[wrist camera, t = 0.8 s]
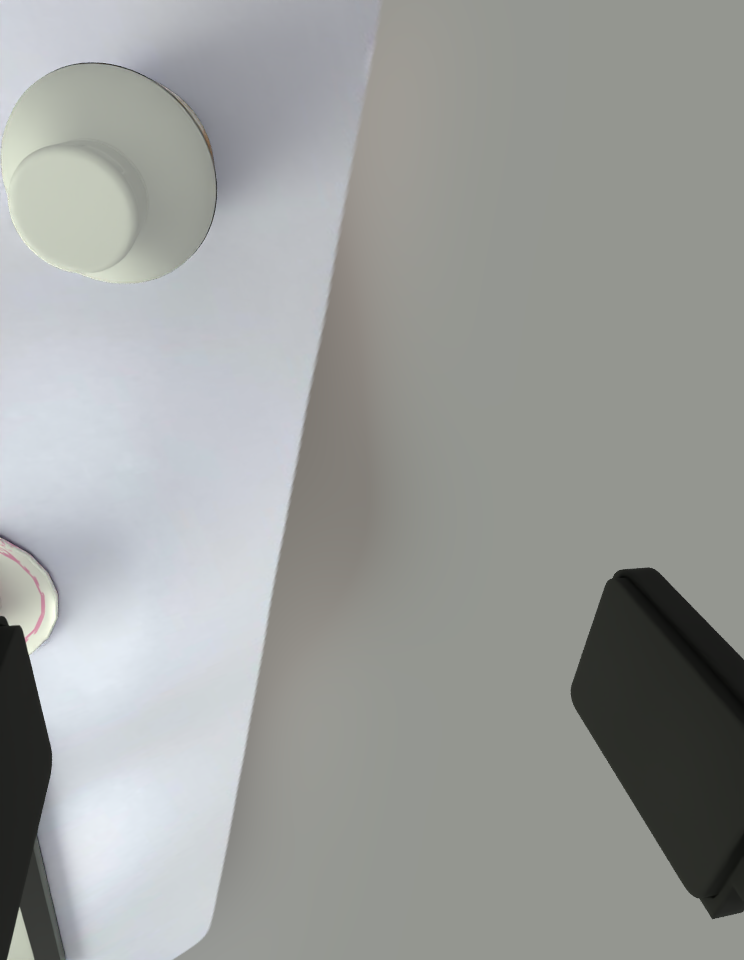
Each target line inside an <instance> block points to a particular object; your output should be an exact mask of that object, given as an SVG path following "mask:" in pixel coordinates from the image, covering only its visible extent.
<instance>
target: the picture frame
mask: <svg viewBox="0 0 744 960" xmlns="http://www.w3.org/2000/svg"><path fill="white" fill-rule="evenodd" d="M7 960H66V959H65V955H64V950H63V946H62V942H61V937H60V933H59V929H58V925H57V920H56V916H55V912H54V908H53V903H52V899H51V895H50V891H49V886H48V882H47V878H46V873H45V869H44V865H43V861H42V856H41V852H40V848H39V844H38V839H37V835H36V839H35V843H34V848H33V852H32V856H31V860H30V865H29V869H28V873H27V877H26V882H25V886H24V890H23V894H22V899H21V903H20V907H19V911H18V915H17V920H16V924H15V928H14V932H13V937H12V941H11V945H10V949H9V954H8V958H7Z"/></svg>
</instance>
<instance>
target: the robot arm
mask: <svg viewBox="0 0 744 960" xmlns="http://www.w3.org/2000/svg"><path fill="white" fill-rule="evenodd" d="M571 698H572V702H573V705H574V707H575V709H576V710H577V712H578V714H579V715H580V717H581V719H582V720H583V722H584V724H585V725H586V727H587V728H588V730H589V732H590V733H591V735H592V737H593V738H594V740H595V741H596V743H597V745H598V746H599V748H600V750H601V751H602V753H603V755H604V756H605V758H606V759H607V761H608V763H609V764H610V766H611V768H612V769H613V771H614V772H615V774H616V776H617V777H618V779H619V781H620V782H621V784H622V785H623V787H624V789H625V790H626V792H627V793H628V795H629V797H630V799H631V800H632V802H633V803H634V805H635V807H636V808H637V810H638V811H639V813H640V815H641V817H642V818H643V820H644V821H645V823H646V825H647V826H648V828H649V830H650V831H651V833H652V834H653V836H654V838H655V839H656V841H657V842H658V844H659V846H660V847H661V849H662V851H663V852H664V854H665V856H666V857H667V859H668V861H669V862H670V864H671V865H672V867H673V869H674V870H675V872H676V873H677V875H678V877H679V878H680V880H681V881H682V883H683V885H684V886H685V888H686V889H687V890H688V892H689V893H690V894H691V895H693V896H694V897H696V898H700V900H701V902H702V903H703V905H704V906H705V908H706V910H707V911H708V913H709V914H710V916H711V918H712V919H715V918H719V917H724V916H728V915H733V914H737V913H741V912H743V911H744V660H743V658H742V657H741V656H740V655H739V654H738V653H737V652H736V651H735V650H734V649H733V648H732V647H731V646H730V645H729V644H728V643H727V642H726V641H725V640H724V639H723V638H722V637H721V636H720V635H719V634H718V633H717V632H716V631H715V630H714V629H713V628H712V627H711V626H710V625H709V624H708V623H707V622H706V620H705V619H704V618H703V617H702V616H701V615H700V614H699V613H698V612H697V611H696V610H695V609H694V608H693V607H692V606H691V605H690V604H689V603H688V602H687V601H686V600H685V599H684V598H683V597H682V596H681V595H680V594H679V593H678V592H677V591H676V590H675V589H674V588H673V587H672V586H671V585H670V583H669V582H668V581H667V580H666V579H665V578H664V577H663V576H662V575H661V574H660V573H659V572H658V571H656V570H655V569H653V568H637V569H623V570H619V571H617V572H616V573H615V574H614V576H613V578H612V579H610V580H608V581H607V583H606V585H605V588H604V591H603V594H602V597H601V600H600V603H599V605H598V609H597V612H596V614H595V617H594V621H593V624H592V626H591V629H590V632H589V635H588V638H587V641H586V645H585V647H584V650H583V653H582V656H581V659H580V662H579V665H578V668H577V671H576V674H575V677H574V680H573V683H572V686H571ZM51 768H52V751H51V746H50V742H49V737H48V733H47V729H46V725H45V721H44V716H43V712H42V708H41V704H40V700H39V696H38V691H37V687H36V683H35V679H34V675H33V670H32V666H31V662H30V658H29V654H28V650H27V645H26V641H25V637H24V633H23V630H22V627H21V626H20V625H12V626H9V624H8V621H7V619H6V618H5V617H4V616H0V960H7V958H8V954H9V949H10V945H11V941H12V937H13V932H14V928H15V924H16V920H17V915H18V911H19V907H20V903H21V899H22V894H23V890H24V886H25V882H26V877H27V873H28V869H29V865H30V860H31V856H32V852H33V848H34V843H35V839H36V835H37V831H38V826H39V822H40V818H41V814H42V809H43V805H44V801H45V797H46V792H47V788H48V784H49V780H50V775H51Z"/></svg>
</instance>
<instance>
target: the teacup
mask: <svg viewBox="0 0 744 960" xmlns="http://www.w3.org/2000/svg"><path fill="white" fill-rule="evenodd" d="M0 616H4V617H5V618H6V619H7V621H8V624H9V626H12V625H20V626H21V627H22V630H23V633H24V637H25V641H26V645H27V650H28V654H29V655H30V654H32V653H33V652H34V651H35V650H36V649H37V648H38V647H39V646H40V645H41V644H42V643H43V642H44V641H45V640H47V639H48V638H49V635H50V633H51V631H52V629H53V627H54V625H55V622H56V620H57V618H58V593H57V591H56V589H55V587H54V584H53V582H52V580H51V578H50V575H49V573H48V572H47V571H46V570H45V569H44V568H43V567H42V566H41V565H40V564H39V563H38V562H37V561H36V560H35V559H34V558H33V557H32V556H31V555H30V554H29V553H27V552H26V551H24V550H22V549H20V548H19V547H17V546H15V545H13V544H12V543H10V542H8V541H6V540H4V539H3V538H0Z"/></svg>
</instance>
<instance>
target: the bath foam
mask: <svg viewBox="0 0 744 960" xmlns="http://www.w3.org/2000/svg"><path fill="white" fill-rule="evenodd" d="M1 169H2V176H3V181H4V186H5V189H6V193H7V196H8V206H9V211H10V215H11V219H12V221H13V224H14V226H15V228H16V230H17V232H18V234H19V235H20V237H21V238H22V240H23V241H24V242H25V244H26V245H27V246H28V247H29V248H30V249H31V250H32V251H33V252H34V253H35V254H36V255H37V256H39V257H40V258H41V259H43V260H44V261H46V262H47V263H49V264H51V265H53V266H55V267H57V268H59V269H62V270H65V271H69V272H73V273H79V274H81V275H83V276H86V277H89V278H92V279H95V280H99V281H103V282H109V283H118V284H132V283H140V282H146V281H150V280H153V279H157V278H159V277H162V276H164V275H166V274H168V273H170V272H172V271H173V270H175V269H177V268H178V267H179V266H181V265H182V264H183V263H185V262H186V261H187V260H188V259H189V258H190V257H191V256H192V255H193V254H194V253H195V252H196V251H197V249H198V248H199V247H200V245H201V244H202V242H203V241H204V239H205V237H206V235H207V233H208V231H209V229H210V226H211V224H212V221H213V217H214V213H215V208H216V200H217V181H216V173H215V166H214V159H213V153H212V149H211V145H210V142H209V139H208V136H207V134H206V132H205V129H204V127H203V126H202V124H201V122H200V120H199V119H198V117H197V116H196V114H195V113H194V112H193V110H192V109H191V108H190V107H189V106H188V105H187V104H186V103H185V102H184V101H183V100H182V99H181V98H180V97H179V96H178V95H176V94H175V93H174V92H172V91H171V90H169V89H168V88H166V87H165V86H163V85H161V84H159V83H157V82H155V81H153V80H151V79H150V78H148V77H146V76H144V75H142V74H140V73H138V72H135V71H133V70H130V69H127V68H124V67H121V66H117V65H112V64H106V63H79V64H73V65H69V66H65V67H62V68H59V69H57V70H55V71H53V72H51V73H49V74H47V75H45V76H44V77H42V78H41V79H39V80H38V81H36V82H35V83H34V84H33V85H32V86H30V87H29V88H28V89H27V90H26V91H25V92H24V94H23V95H22V96H21V97H20V99H19V100H18V102H17V103H16V105H15V107H14V108H13V110H12V112H11V115H10V117H9V119H8V122H7V124H6V127H5V130H4V134H3V138H2V145H1Z"/></svg>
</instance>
